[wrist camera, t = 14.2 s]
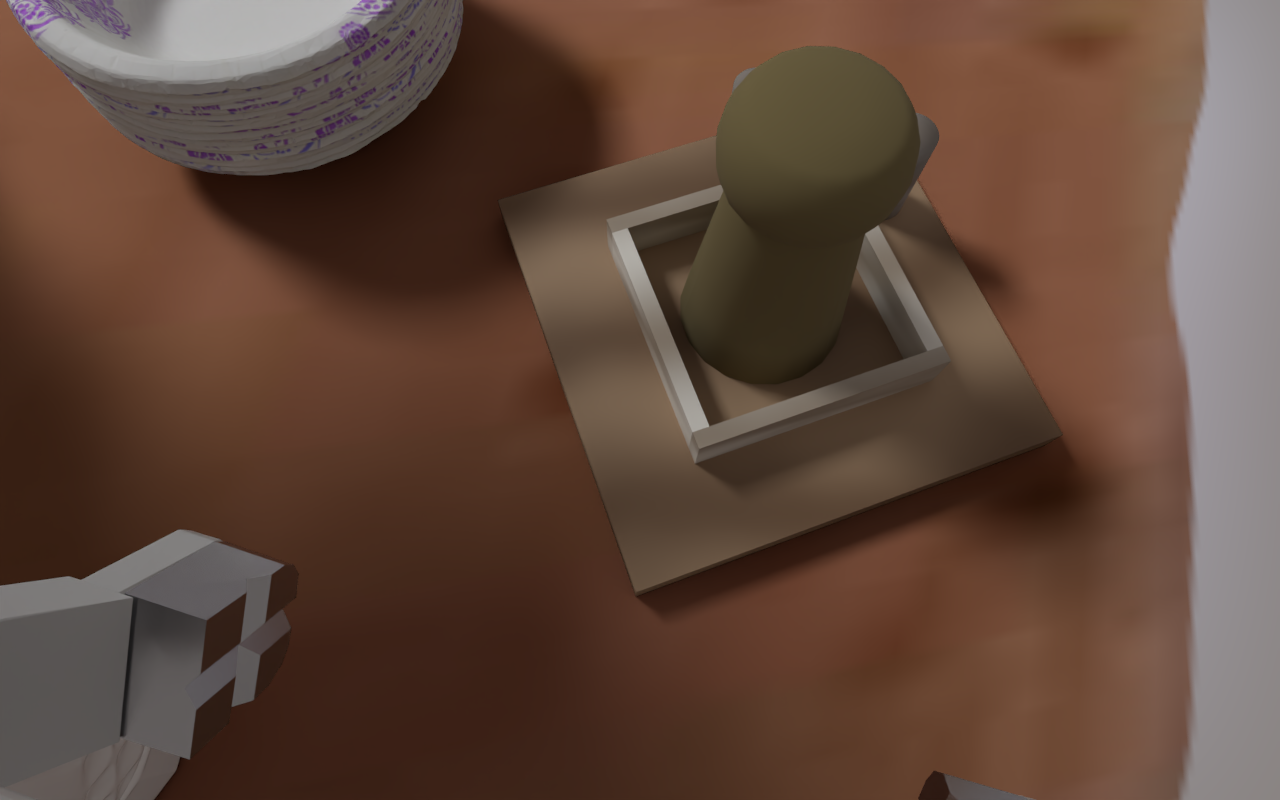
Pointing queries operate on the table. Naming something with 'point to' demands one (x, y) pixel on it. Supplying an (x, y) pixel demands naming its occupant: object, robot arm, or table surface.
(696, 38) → the table surface
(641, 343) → the peg board
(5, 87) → the table surface
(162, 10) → the paper bowls
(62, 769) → the white cup
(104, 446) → the table surface
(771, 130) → the olive brown peg
